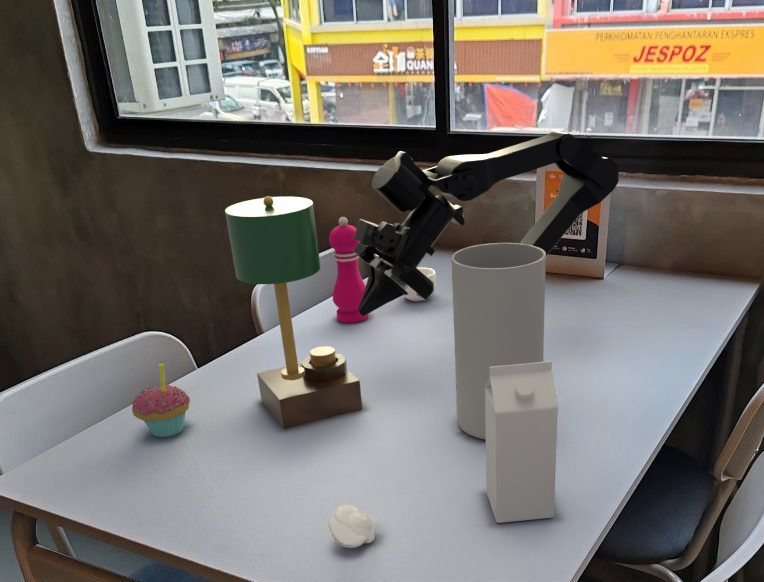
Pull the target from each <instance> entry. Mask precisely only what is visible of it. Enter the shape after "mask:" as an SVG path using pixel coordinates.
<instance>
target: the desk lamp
mask: <svg viewBox="0 0 764 582" xmlns="http://www.w3.org/2000/svg"><path fill="white" fill-rule="evenodd" d="M224 215H225V220H226V225H227V231H228V237H229V243H230V250H231V255H232V260H233V267H234V273H235V277H236V279H237V280H238V281H240V282H243V283H247V284H252V285H273V287H274V292H275V301H276V307H277V314H278V315H277V316H278V322H279V327H280V334H281V340H282V341H281V343H282V348H283V355H284V361H285V367H286V368H285V369H283V370H282V371H281V376H282V378H283V379H285V380H297V379H300V378H303V377H304V376H305V369H304V368H303V367H300V366H298V364H299V363H298V361H299V360H298V356H297V355H298V354H297V347H296V340H295V334H294V327H293V319H292V312H291V311H292V310H291V304H290V298H289V291H288V284H287V283H291V282H292V283H293V282H297V281H300V280H304V279H307V278H309V277H312V276H314V275H316V274H317V273H318V272H319V271H320V270H321V261H320V252H319V242H318V234H317V227H316V217H315V208H314V202H313V200H311V199H309V198H306V197H300V196H270V195H269V196H268V195H267V196H265V197H262V198H261V197H260V198H255V199H254V198H253V199H250V200H244V201H241V202H237V203H235V204H231V205H230V206H227V207H226V208H225V210H224Z"/></svg>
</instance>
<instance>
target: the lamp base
mask: <svg viewBox="0 0 764 582" xmlns="http://www.w3.org/2000/svg"><path fill="white" fill-rule="evenodd" d="M335 354H336V363H334V364H333V365H329V366H325V367H316V366H312V365H311V359H310V355H308V356H307V357H305V358H303V359H302V361H301V362H300V363H298V366H300V367H303V368H304V369H305V376H304V377H303V378H300V379H297V380H285V379H283V378H282V376H281V371H282V370H283V369H285V368H286V366H283V367H278V368H275V369H269V370H265V371H261V372H257V373H256V375H257V376H256V377H257V383H258V389H259V394H260V400H261V403H262V404H263V405H264V406H265V408H266V409H267V410H268V411H269V412H270V414H271V415H272V416H273V418H274V419H275V420H276V421H277V423H278V424H279V425H280V426H281V427H282V429H283V430H288V429H292V428H295V427H299V426H303V425H307V424H311V423H314V422H318V421H322V420H326V419H327V420H328V419H330V418H334V417H338V416H339V417H340V416H342V415H347V414H350V413H355V412H358V411H361V410H363V403H362V402H363V401H362V391H361V382H360V381H361V380H360V379H358V377H357V376H355V375H354V374H353V373H351V372H350V371H349V370H348V364H347V358H346V356H344V355H343V354H342V353H337V352H335Z"/></svg>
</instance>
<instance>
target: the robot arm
mask: <svg viewBox="0 0 764 582" xmlns="http://www.w3.org/2000/svg"><path fill="white" fill-rule="evenodd" d="M553 164H555V166H556V167H557V168H558V170H560V171H561V172H562V173H563V175H562V176H561V180H560V183H559V188H558V193H557V195H556V197H555V198H554V200H552V202H551V203H550V204H549V206H548V207H546V209H545V211H544V212H543V213H542V215H540V217H539V218H538V219H537V221H536V222H535V223H534V224H533V225H532V226H531V228H530V229H529V231H528V232H527V233H526V234H525V235H524V237H523V238H522V239H521V241H520V242H519V243H520V244H527V245H532V246H536V247H539V248H541V249H542V250H544V251H545V253H546V257H547V256H548V255H549V254H550V252H551V251H552V250H553V249H554V248H555V246H556V245H557V244H558V242H560V240H562V238H563V236H564V235H565V234H566V233H567V231H568V230H569V229H570V228H571V226H573V224H574V223H575V221H576V220H577V219H578V218H579V217H580V216H581V214H583V213H584V212H586V211H588V210H590V209H592V208H593V207H595V206H597V205H599V204H601V203H602V202H603V201H604V200H605V199H606V198H607V197H608V196H609V195H611V194H612V192H613V191H614V190H615V189H616V187H617V186H618V184H619V181H620V179H619V175H620V170H619V166H618V164H617V162H616V161H615V160H614V159H612V158H609V157H605V156H602V155H601V154H599V153H598V152H596V151H594V150H593V149H591V148H590V147H588V146H587V145H585V144H583V143H582V142H581V141H579V140H578V138H576V137H575V136H574V135H573V134H571V133H568V132H562V131H557V130H556V131H551V132H549V133H548V134H546V135H543V136H540V137H537V138H533V139H529V140H527V141H524V142H521V143H518V144H514V145H511V146H508V147H504V148H501V149H499V150H496V151H491V152H489V153H483V154H481V153H480V154H458V155H449V156H445V157H443V158H442V159H440V161H438V163H437V165H436V166H433V167H429V168H426V169H421V168H420V167H419V166H418V165H417V164H416V162H414V160H413V158H412V157H411V156H410V155H409V154H408V153H407V152H405V151H401V150H400V151H398V152H397V153H396V155H395V156H394V157H392V158H390V159H389V160H387V161H386V162H385V163H383V165H380V166H379V168H378V169H377V171H376V172H375V173H374V176H373V177H372V181H371V187H372V189H373V190H374V191H375V192H377V193H378V194H379V195H380V196H381V197H382V198H383V199H384V200H385V201H386V202H387V203H389V204H390V205H391V206H392V208H394V209H395V210H396V211H397V212H398V213H406V212H409V214H408V215H407V217H406V218H405V219H404V221H403V222H402V223H400V222H395V223H393V224H391V223H388V222H386V221H381V222H380V223H379V224H377V223H374V222H371V221H369V220H366V219H362V218H359V220H358V223H357V227H356V232H355V236H354V240H358V241H360V242H359V244H358V245H357V246H356V248H355V249H354V251H353V252H354V253H355V254H356V255H358V256H359V259H361V260H362V261H364V266H365V268H366V272H367V281H366V283H365V285H366V287H365V290H364V293H363V296H362V299H361V302H360V305H359V307H358V313H360V314H361V315H362V316H365V315H367V314H368V315H369V314H370V313H372V312H374V311H375V310H377V309H379V308H382V307H383V306H385V305H387V304H388V303H391V302H393V301H395V300H396V299H398V298H401V297H404V295H407V294H408V292H406V291H405V290H406V288H407V287H408V286H409V287H410V288H411V289H412V290H413V291H415V292H416V293H417V294H416V295H418V296H419V297H420V298H422V299H424V300H423V301H426V302H427V301H428V300H429V299H430V298H431V297H432V296H431V294H432V293H433V292H435V290H434V284H433V282H432V281H431V280H430V279H429V278H428V277H426V276H425V275H424V274H423V273H422V272H421V271H419V270H418V269H417V268H419V265H420V264H421V263H422V262H423V260H424V259H425V257H426V256H427V255H428V256H430V257H432V256H433V255H434V253H435V252H436V250H435V249H434V248H433V246H434V245H435V244H436V243H437V240H438V239H439V237H440V236H441V235H442V233H443V232H444V231H445V229H446V228H447V227H448V225H449V224H450V223H453V224H456V225H459V226H461V227H462V226H464V225H466V222H465V217H464V207H463V206H461V205H458V204H454V205H453V204H452V203H451V202H450V201H449V200H448V199H447V198H446V197H445V196H447V197H450V198H452V199H455V200H458V201H461V202H470V201H472V200H474V199H476V198H478V197H480V196H481V195H483V194H485V193H487V192H489V191H490V190H491V188H492V187H494V186H495V185H496V184H497V183H499V182H501V181H503V180H506V179H509V178H510V179H511V178H513V177H516V176H520V175H522V174H525V173H528V172H531V171H534V170H536V169H540V168H543V167H546V166H549V165H553ZM429 189H432V190H434V191H438V192H439V193H441V194H439V195H435V194H434V193H433V192H432V191H430V190H429ZM433 294H434V293H433ZM433 294H432V295H433ZM430 296H431V297H430Z"/></svg>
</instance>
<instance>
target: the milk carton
mask: <svg viewBox="0 0 764 582" xmlns="http://www.w3.org/2000/svg"><path fill="white" fill-rule="evenodd" d="M552 368H553V362H552V360H549V361H543V362H536V363H526V364H515V365H504V366H493V367H490V376H489V378H488V381H487V383H486V386H485V421H486V440H485V476H486V477H485V479H486V483H485V484H486V486H485V487H486V491H485V492H486V495H487V496H486V497H487V498H488V501H489V504H490V507H491V511H492V513H493V516H494V520H495V523H498V524H502V523H511V522H520V521H531V520H532V521H533V520H542V519H550V518H554V516H555V501H556V500H555V496H556V495H555V494H556V473H557V472H556V469H557V441H558V415H559V412H558V411H559V405H558V397H557V393H556V388H555V381H554V376H553V371H552V370H553V369H552Z"/></svg>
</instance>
